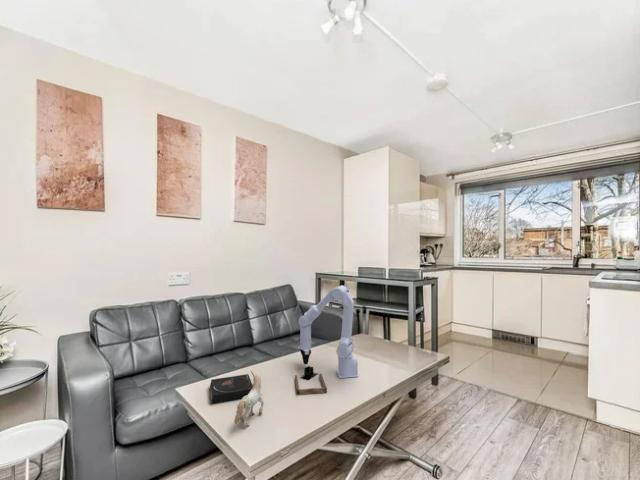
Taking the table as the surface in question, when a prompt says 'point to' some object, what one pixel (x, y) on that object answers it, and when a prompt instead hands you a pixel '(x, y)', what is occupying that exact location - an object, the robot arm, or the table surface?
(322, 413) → the table surface
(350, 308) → the robot arm
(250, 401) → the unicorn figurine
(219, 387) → the portable cd player
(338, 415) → the table surface
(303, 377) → the black bevelled base
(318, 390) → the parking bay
